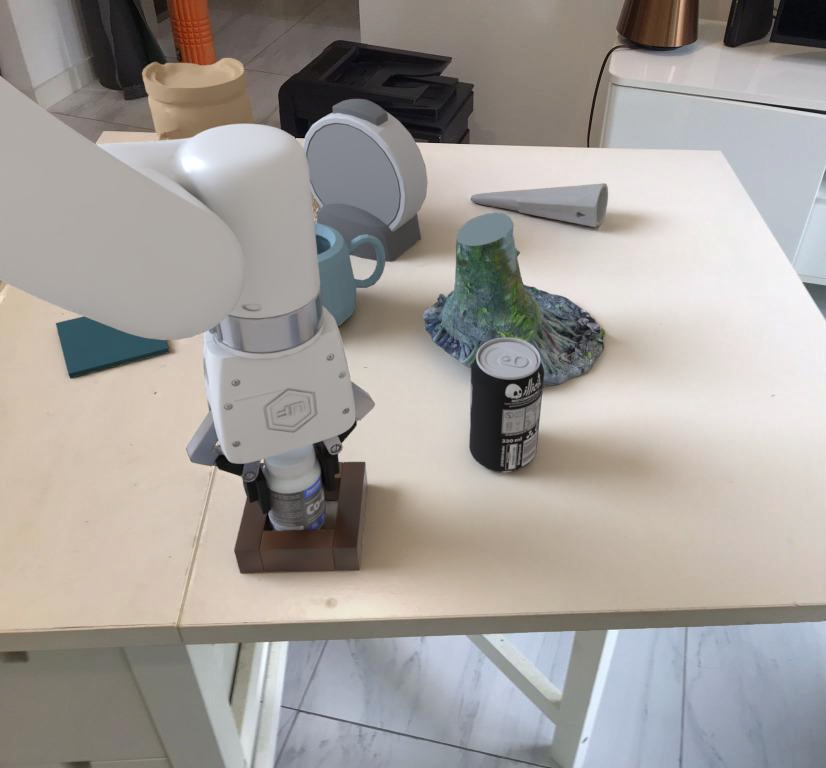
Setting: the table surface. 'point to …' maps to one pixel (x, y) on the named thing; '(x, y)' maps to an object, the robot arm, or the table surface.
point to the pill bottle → (295, 490)
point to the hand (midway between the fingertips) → (294, 489)
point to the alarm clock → (367, 177)
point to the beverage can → (505, 404)
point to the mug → (342, 270)
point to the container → (196, 97)
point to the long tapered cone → (554, 202)
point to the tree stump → (509, 306)
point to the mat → (102, 346)
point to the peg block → (308, 533)
